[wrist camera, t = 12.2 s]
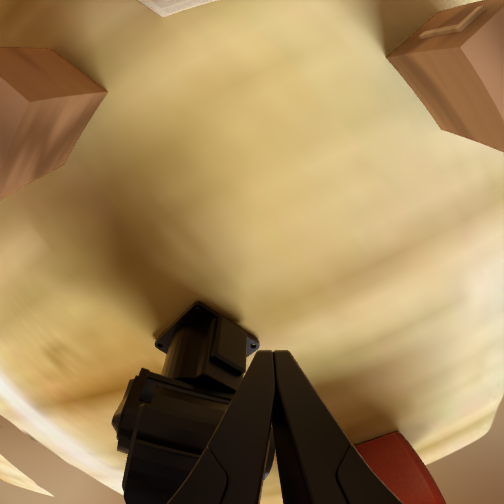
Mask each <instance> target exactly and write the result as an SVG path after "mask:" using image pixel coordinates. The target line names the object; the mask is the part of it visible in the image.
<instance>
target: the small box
mask: <svg viewBox="0 0 504 504" xmlns="http://www.w3.org/2000/svg"><path fill="white" fill-rule="evenodd" d="M137 1H139V2H140V3H142V4H143V5H145V6H146V7H148V8H149V9H151V10H152V11H154V12H155V13H157V14H158V15H160V16H161V17H166V16H169V15H171V14H174V13H177V12H180V11H183V10H186V9H190V8H193V7H196V6H199V5H203V4H206V3H210V2H213V1H217V0H137Z"/></svg>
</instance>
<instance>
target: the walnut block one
mask: <svg viewBox="0 0 504 504" xmlns="http://www.w3.org/2000/svg"><path fill="white" fill-rule="evenodd" d="M107 93H108V92H107V91H106V90H105V89H104V88H102V87H101V86H100V85H98V84H97V83H96V82H94V81H93V80H92V79H91V78H89V77H88V76H87V75H85V74H84V73H83V72H81V71H80V70H79V69H77V68H76V67H75V66H73V65H72V64H71V63H69V62H68V61H67V60H65V59H64V58H63V57H61V56H60V55H59V54H57V53H56V52H55V51H53V50H52V49H41V48H20V47H0V201H1V200H2V199H4V198H6V197H7V196H9V195H10V194H12V193H14V192H15V191H17V190H19V189H20V188H22V187H24V186H26V185H27V184H29V183H31V182H33V181H34V180H36V179H38V178H40V177H42V176H43V175H45V174H47V173H49V172H51V171H53V170H55V169H57V168H58V167H60V166H62V165H64V163H65V162H66V160H67V158H68V156H69V154H70V152H71V151H72V149H73V147H74V145H75V144H76V142H77V140H78V138H79V137H80V135H81V133H82V132H83V130H84V128H85V127H86V125H87V123H88V122H89V120H90V119H91V117H92V115H93V114H94V112H95V111H96V109H97V108H98V106H99V105H100V103H101V102H102V100H103V99H104V97H105V96H106V94H107Z"/></svg>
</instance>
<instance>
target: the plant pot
mask: <svg viewBox="0 0 504 504" xmlns="http://www.w3.org/2000/svg"><path fill="white" fill-rule="evenodd" d="M354 447H355V448H356V450H357V451H358V452H359V454H360V455H361V457H362V458H363V459H364V461H365V462H366V463H367V465H368V466H369V467H370V468H371V470H372V471H373V472H374V473H375V474H376V475H377V477H378V478H379V479H380V480H381V481H382V482H383V483H384V484H385V485H386V486H387V488H388V489H389V490H390V491H391V492H392V493H393V494H394V495H395V496H396V497H397V498H398V499H399V500H400V501H401V502H402V503H403V504H446V502H445V500H444V498H443V496H442V494H441V492H440V490H439V488H438V486H437V485H436V483H435V481H434V479H433V478H432V476H431V474H430V473H429V471H428V469H427V468H426V466H425V465H424V463H423V462H422V460H421V459H420V457H419V456H418V454H417V453H416V452H415V450H414V449H413V448H412V446H411V445H410V444H409V442H408V441H407V440H406V439H405V438H404V436H403V435H402V434H401V433H399V432H395V433H391V434H388V435H386V436H383V437H380V438H377V439H374V440H371V441H368V442H365V443H361V444H358V445H355V446H354Z"/></svg>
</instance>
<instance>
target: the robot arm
mask: <svg viewBox="0 0 504 504" xmlns="http://www.w3.org/2000/svg"><path fill="white" fill-rule="evenodd" d="M197 307H199V308H201V309H197ZM160 343H161V344H160ZM252 344H255V345H252ZM155 346H156V348H158V349H159V350H161V351H163V352H164V353H166V354H167V355H166V359H165V363H164V366H163V370H162V373H161V375H159V374H156V373H153V372H150V371H149V370H148V369H145V368H141V371H140V373H139V376H137V375H136V377H135V379H132V380H130V381H129V384H128V387H127V390H126V392H125V395H124V398H123V400H122V402H121V403H120V405H119V407H118V409H117V410H116V412H115V414H114V416H113V419H112V426H113V427H114V429H115V431H116V432H117V440H118V446H117V451H120V452H123V453H126V454H128V457H127V462H126V466H125V471H124V476H123V481H122V488H123V491H124V499H125V502H126V504H260V499H261V492H262V486H263V480H264V479H265V478H266V477H267V476H268V474H269V472H270V470H271V467H272V464H273V460H274V454H275V450H276V457H277V464H278V471H279V477H280V484H281V491H282V498H283V504H403V503H402V502H401V501H400V500H399V499H398V498H397V497H396V496H395V495H394V494H393V493H392V492H391V491H390V490H389V489H388V488H387V486H386V485H385V484H384V483H383V482H382V481H381V480H380V479H379V478H378V477H377V475H376V474H375V473H374V472H373V471H372V470H371V468H370V467H369V466H368V465H367V463H366V462H365V461H364V459H363V458H362V457H361V455H360V454H359V452H358V451H357V450H356V448H355V447H354V445H351V441H350V440H349V438H348V437H347V435H346V434H345V433H344V431H343V430H342V428H341V427H340V425H339V424H338V422H337V421H336V419H335V418H334V417H333V415H332V414H331V412H330V411H329V409H328V408H327V406H326V405H325V403H324V402H323V400H322V399H321V397H320V396H319V395H318V393H317V392H316V390H315V389H314V387H313V386H312V384H311V383H310V381H309V380H308V378H307V377H306V375H305V374H304V372H303V371H302V369H301V368H300V366H299V365H298V363H297V362H296V360H295V359H294V357H293V356H292V354H291V353H290V352H289V351H288V350H275V351H274V352H273V351H271V350H258V351H257V352H256V354H255V356H254V358H253V360H252V362H251V364H250V366H249V368H248V370H247V372H246V357H248V356H249V355H250V354H252V353H253V352H255V351H256V350H257V349H258V348H259V341H258V340H257V339H256V338H254V337H253V336H251V335H250V334H248V333H247V332H246V331H244V330H243V329H241V328H240V327H238V326H237V325H235V324H234V323H232V322H231V321H230V320H228V319H227V318H225V317H224V316H221V315H220V314H218V313H217V312H216V311H214V310H213V309H211V308H210V307H208V306H207V305H206V304H204V303H202V302H199V301H198V302H195V303H193V304H192V305H191V306H190V307H189V308H188V309H187V310H186V311H185V312H184V313H183V314H182V315H181V316H180V317H179V318H178V319H177V320H176V321H175V322H174V323H173V324H172V325H171V326H170V327H169V328H168V329H166V330H165V331H164V332H163V333H162V334H161V335H160V336H159V337H158V338H157V339H156V341H155ZM245 372H246V374H245V376H244V378H243V375H244V373H245ZM271 424H272V427H271ZM272 429H273V431H272Z"/></svg>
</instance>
